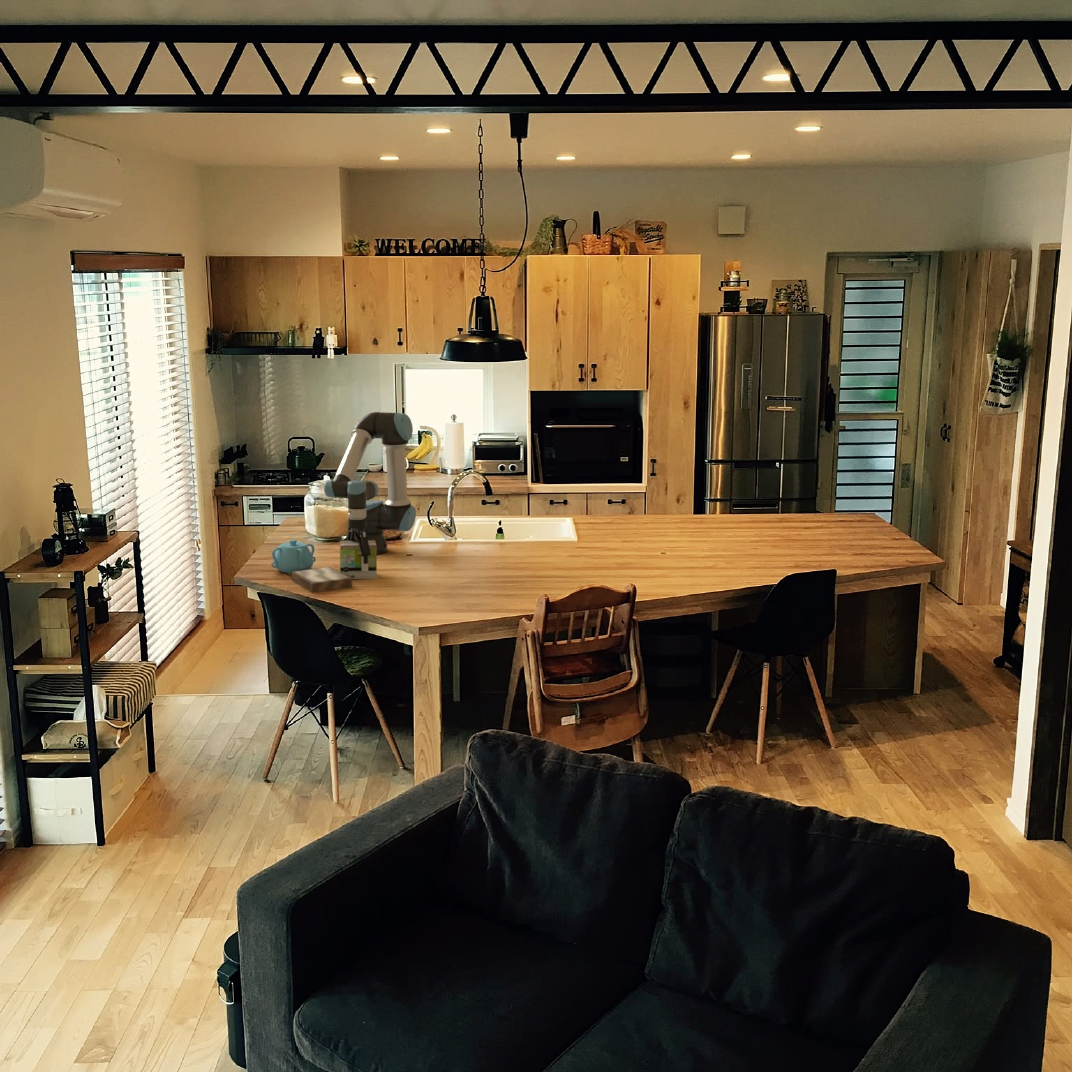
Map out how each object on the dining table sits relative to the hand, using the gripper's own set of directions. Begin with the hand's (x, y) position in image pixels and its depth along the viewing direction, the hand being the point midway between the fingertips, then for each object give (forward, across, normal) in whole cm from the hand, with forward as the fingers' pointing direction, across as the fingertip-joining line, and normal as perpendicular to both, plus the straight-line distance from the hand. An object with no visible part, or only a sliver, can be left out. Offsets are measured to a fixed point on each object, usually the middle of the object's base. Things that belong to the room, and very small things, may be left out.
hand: (358, 567), depth 478 cm
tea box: (+4, 0, 0) cm, 4 cm away
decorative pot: (+4, -22, -20) cm, 30 cm away
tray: (+4, +4, -18) cm, 19 cm away
